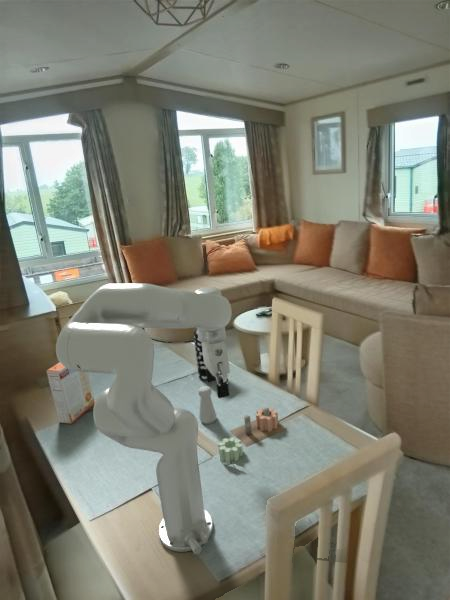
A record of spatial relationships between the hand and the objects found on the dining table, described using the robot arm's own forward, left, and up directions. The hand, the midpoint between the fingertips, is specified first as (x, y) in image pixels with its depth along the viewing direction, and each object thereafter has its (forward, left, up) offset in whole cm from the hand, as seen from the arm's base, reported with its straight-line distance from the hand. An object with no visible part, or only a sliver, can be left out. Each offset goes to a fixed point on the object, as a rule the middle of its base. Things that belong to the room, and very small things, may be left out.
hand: (218, 388), depth 117 cm
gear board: (+2, -13, -21) cm, 25 cm away
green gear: (-3, 0, -21) cm, 21 cm away
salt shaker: (+17, -3, -22) cm, 28 cm away
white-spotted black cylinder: (+47, -19, -22) cm, 55 cm away
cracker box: (+53, +33, -22) cm, 66 cm away
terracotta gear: (+2, -17, -20) cm, 26 cm away
